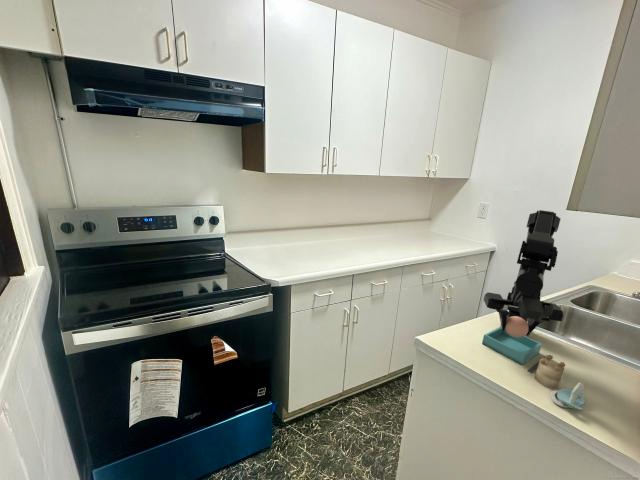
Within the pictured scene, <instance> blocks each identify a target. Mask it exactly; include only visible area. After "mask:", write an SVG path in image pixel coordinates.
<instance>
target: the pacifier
mask: <svg viewBox="0 0 640 480" xmlns="http://www.w3.org/2000/svg"><path fill="white" fill-rule="evenodd" d="M584 391H585V386H584V384H583V382H578V383H577V384H576V385H575V386H574V388H572V387H563V388H561V389H560V390H559V389H555V390H553V391H551V392H550V398H551V401H552V402H553V403H554V404H555V405H557V406H559V407H561V408H567V409H569V408H575V409H576V410H579V411H582V410H583V408H582V406H583V405H584V404H585V401H586V399H585V396H584V394H583V393H584ZM556 396H557V398H556ZM578 398H579V399H578ZM557 399H558V400H559V401H558V400H557ZM560 401H561V402H560ZM563 403H564V404H563ZM568 407H569V408H568Z"/></svg>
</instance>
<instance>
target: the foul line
mask: <svg viewBox="0 0 640 480" xmlns="http://www.w3.org/2000/svg"><path fill="white" fill-rule="evenodd" d="M548 355H549V356H550V357H551V359H552V358H553V355H551V354H548ZM538 365H539V361H538V362H536V363H535V364H533V365H532V366H531V367H530V368H528V369H527V372H529V373H530V374H532V373H533V372H535V371H537V368H538Z"/></svg>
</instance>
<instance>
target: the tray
mask: <svg viewBox="0 0 640 480" xmlns="http://www.w3.org/2000/svg"><path fill="white" fill-rule="evenodd" d="M481 341H482V342H481V344H482V345H483V346H486V347H488V348H489V349H492V350H493V351H495V352H497V353H498V354H500V355H501V356H505V358H508V359H509V360H512V361H513V362H515V363H517V364H519V365H521V366H523V365H524V364H526V363H527V362H529V361H530V360H531V359H533V358H534V357H536V356H537V355H539V354H540V352H541V349H542V345H543V343H541V342H540V341H537V340H534V339H532V338H530V337H528V336H526V335H525V336H524V337H521V338H516V337H512V336H510V335H509V334H508V333H507V332H506V330H504V331H502V328H501V326H499V327H497V328H495V329H493V330H491V331H489V332H487V333H484V334H483V338H482V340H481Z"/></svg>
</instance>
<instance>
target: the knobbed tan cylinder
mask: <svg viewBox="0 0 640 480" xmlns="http://www.w3.org/2000/svg"><path fill="white" fill-rule="evenodd" d="M549 355H550V354H546V355H545V356H544V357H541V358H540V359H539V361H538V362H539V365H538V368H537V369H536V370H535V371H536V372H535V374H534V379H535V380H536V382H537V383H539V384H540V385H542V386H544V387H545V388H548V389H549V388H550V389H558V388H559V387H560V383H561V380H562V377H563V374H564V371H565V367H566V363H565V362H563V361H561V362H559V361H556V360H554V359H552V358H551V357H550V356H549Z"/></svg>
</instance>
